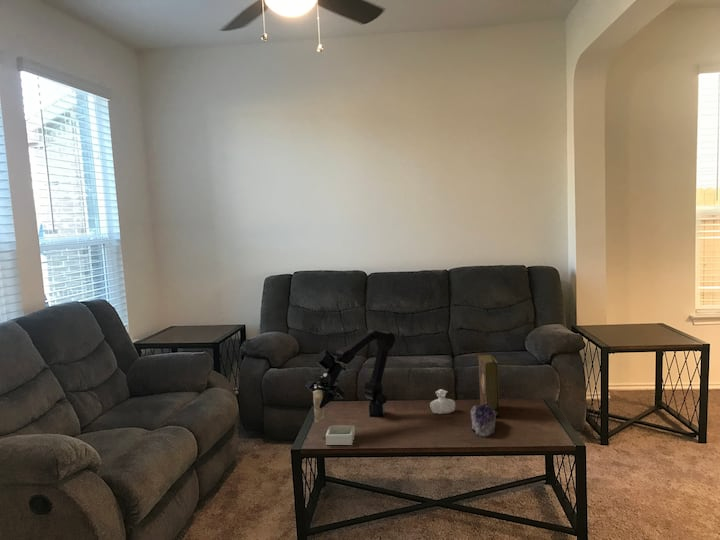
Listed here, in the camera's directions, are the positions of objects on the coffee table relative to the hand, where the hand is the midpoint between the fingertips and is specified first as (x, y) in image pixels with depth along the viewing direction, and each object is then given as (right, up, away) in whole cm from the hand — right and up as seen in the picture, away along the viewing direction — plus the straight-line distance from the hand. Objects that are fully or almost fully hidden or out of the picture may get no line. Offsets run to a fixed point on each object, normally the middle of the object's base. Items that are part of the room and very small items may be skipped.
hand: (316, 407), depth 228 cm
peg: (+1, -6, +2) cm, 7 cm away
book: (+78, -7, +20) cm, 81 cm away
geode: (+71, -9, 0) cm, 72 cm away
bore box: (+11, -13, -5) cm, 17 cm away
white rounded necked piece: (+57, -8, +23) cm, 62 cm away
